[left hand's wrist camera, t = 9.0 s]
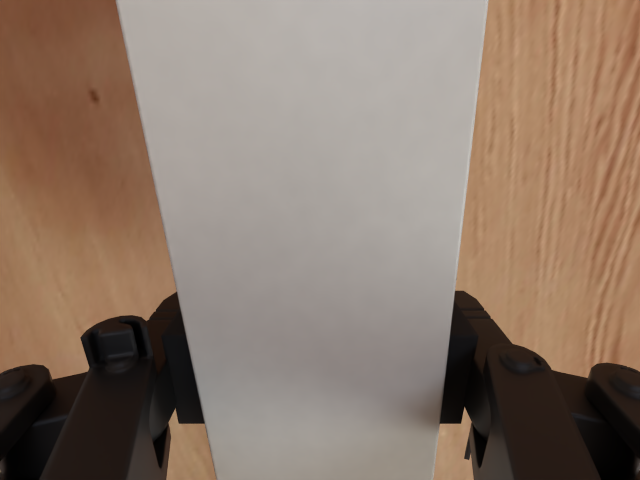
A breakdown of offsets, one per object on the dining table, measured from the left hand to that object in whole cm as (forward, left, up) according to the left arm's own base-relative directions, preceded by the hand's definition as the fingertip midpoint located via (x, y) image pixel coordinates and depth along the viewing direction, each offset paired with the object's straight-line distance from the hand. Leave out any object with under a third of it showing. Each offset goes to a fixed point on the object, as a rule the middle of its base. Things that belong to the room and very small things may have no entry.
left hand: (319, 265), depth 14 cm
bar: (+7, +23, -1) cm, 24 cm away
